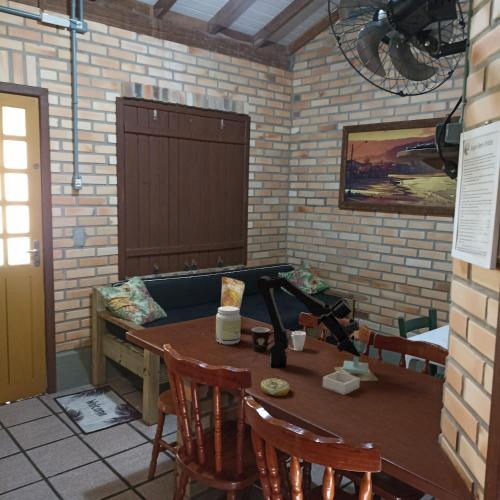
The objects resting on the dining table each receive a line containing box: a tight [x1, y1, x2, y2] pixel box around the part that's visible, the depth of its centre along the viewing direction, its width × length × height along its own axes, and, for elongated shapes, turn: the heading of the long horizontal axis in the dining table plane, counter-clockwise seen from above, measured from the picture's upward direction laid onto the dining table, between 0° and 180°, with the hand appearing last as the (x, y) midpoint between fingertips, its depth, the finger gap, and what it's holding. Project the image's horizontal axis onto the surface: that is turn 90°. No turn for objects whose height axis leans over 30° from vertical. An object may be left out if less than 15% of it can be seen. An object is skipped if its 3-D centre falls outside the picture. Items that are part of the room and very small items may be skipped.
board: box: [334, 366, 379, 382], centre depth 200 cm, size 14×14×1 cm
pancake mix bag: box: [220, 276, 246, 312], centre depth 262 cm, size 7×19×28 cm, turn 35°
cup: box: [287, 330, 307, 352], centre depth 231 cm, size 7×10×8 cm
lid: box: [342, 340, 370, 374], centre depth 199 cm, size 10×10×12 cm
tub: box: [322, 371, 361, 396], centre depth 185 cm, size 10×10×4 cm
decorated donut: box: [260, 377, 291, 397], centre depth 180 cm, size 10×11×4 cm
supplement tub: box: [215, 306, 242, 345], centre depth 240 cm, size 12×12×17 cm
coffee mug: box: [251, 326, 275, 354], centre depth 227 cm, size 12×9×10 cm
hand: (359, 354), depth 199 cm, fingers closed on lid, 3 cm apart
